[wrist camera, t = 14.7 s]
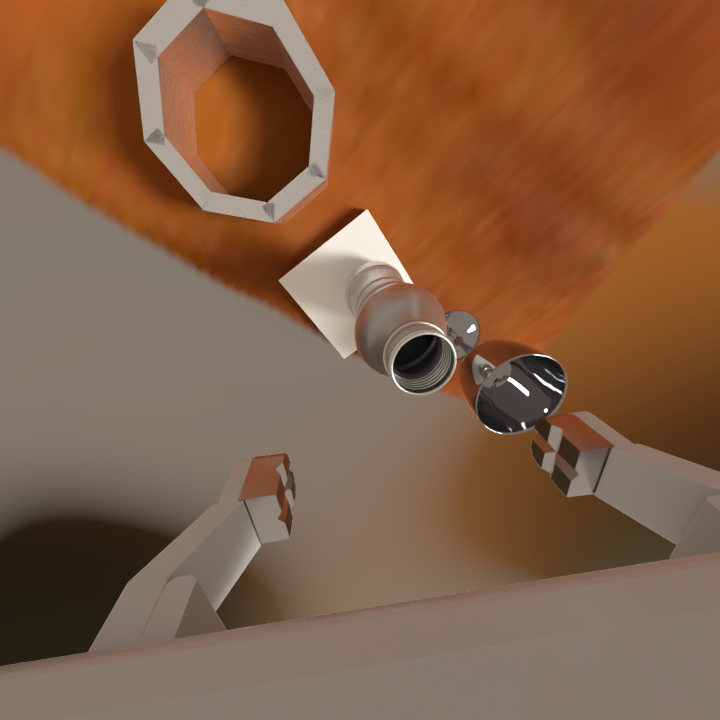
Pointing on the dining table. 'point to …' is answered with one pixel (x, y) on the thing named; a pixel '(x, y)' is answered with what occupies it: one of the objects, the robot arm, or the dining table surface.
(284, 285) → the ceramic pad
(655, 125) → the dining table surface
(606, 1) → the dining table surface
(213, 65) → the steel collar
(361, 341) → the plastic bottle
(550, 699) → the robot arm
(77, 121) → the dining table surface
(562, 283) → the dining table surface
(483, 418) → the wine glass
